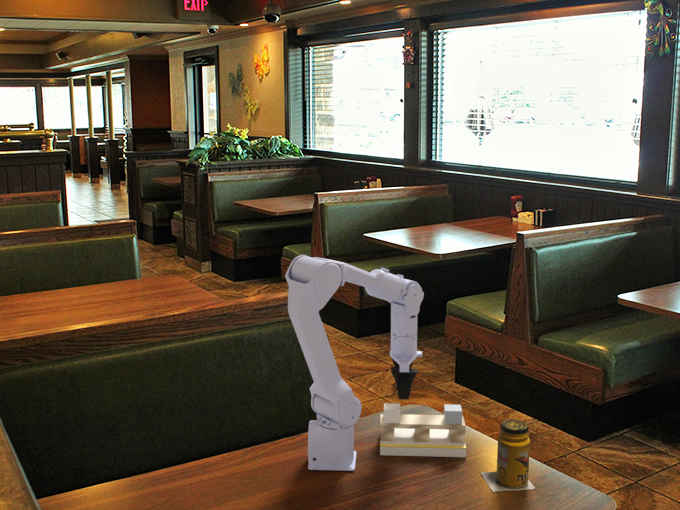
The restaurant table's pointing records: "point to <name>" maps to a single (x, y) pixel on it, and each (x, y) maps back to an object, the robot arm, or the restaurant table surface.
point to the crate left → (391, 412)
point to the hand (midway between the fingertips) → (403, 391)
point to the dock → (422, 444)
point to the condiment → (511, 459)
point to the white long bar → (422, 427)
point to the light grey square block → (452, 414)
